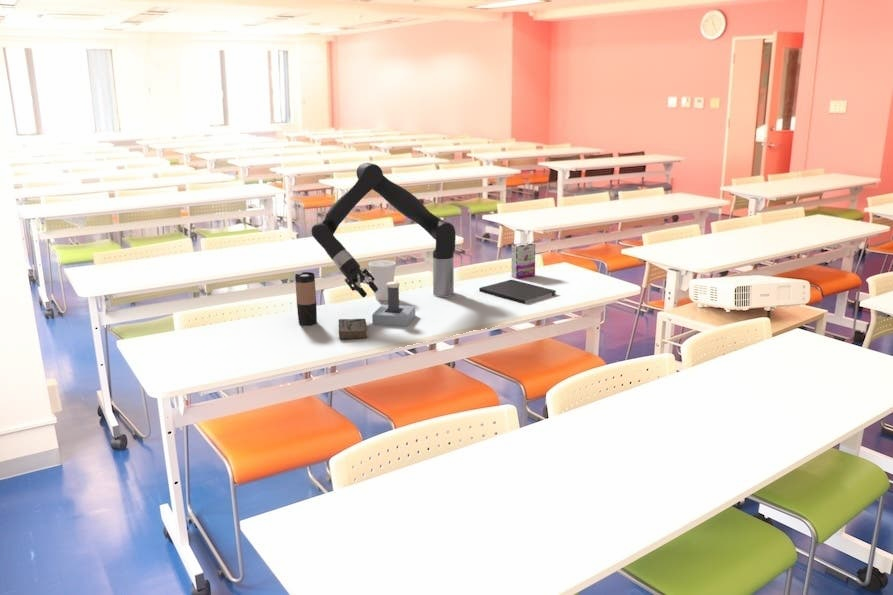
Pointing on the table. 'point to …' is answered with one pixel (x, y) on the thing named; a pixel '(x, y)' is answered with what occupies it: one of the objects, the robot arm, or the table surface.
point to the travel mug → (306, 298)
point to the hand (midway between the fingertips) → (371, 293)
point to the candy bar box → (523, 260)
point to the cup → (382, 276)
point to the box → (352, 328)
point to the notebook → (518, 291)
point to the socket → (393, 316)
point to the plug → (393, 297)
